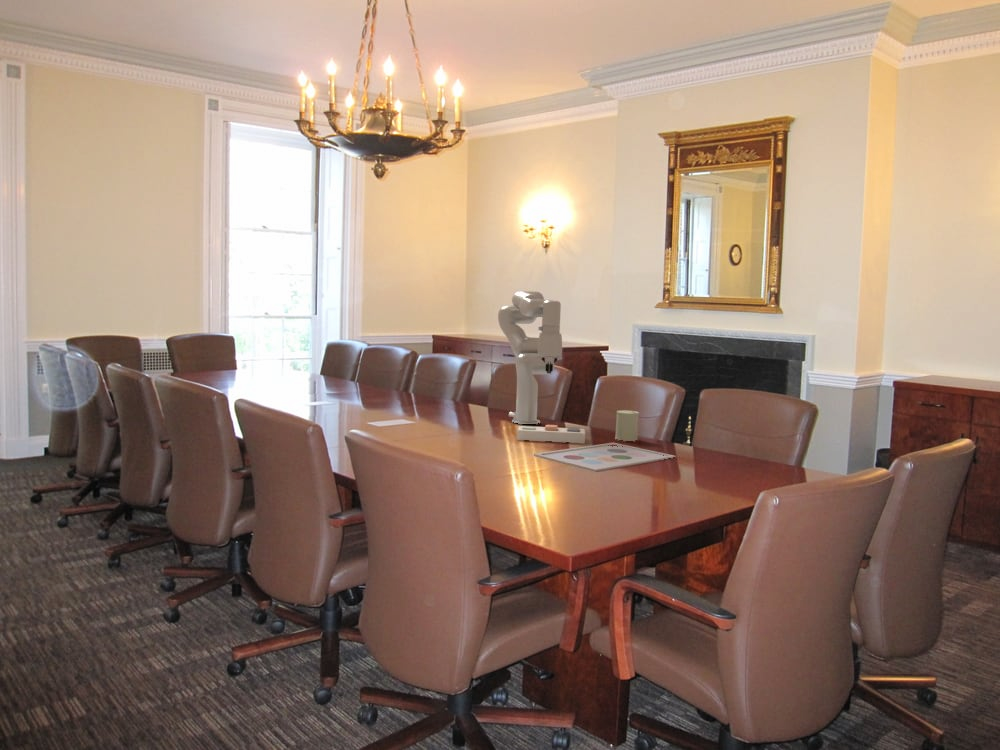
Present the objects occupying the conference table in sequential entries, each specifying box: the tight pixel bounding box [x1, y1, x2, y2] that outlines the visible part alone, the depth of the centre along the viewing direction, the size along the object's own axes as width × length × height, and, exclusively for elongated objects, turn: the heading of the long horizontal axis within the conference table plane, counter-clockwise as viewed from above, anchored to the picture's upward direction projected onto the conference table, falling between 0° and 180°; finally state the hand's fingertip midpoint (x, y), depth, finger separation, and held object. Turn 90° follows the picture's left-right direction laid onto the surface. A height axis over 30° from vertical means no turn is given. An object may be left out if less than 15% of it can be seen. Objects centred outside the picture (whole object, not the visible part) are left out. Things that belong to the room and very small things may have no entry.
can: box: [614, 409, 640, 442], centre depth 344 cm, size 9×9×12 cm
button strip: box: [516, 425, 586, 444], centre depth 339 cm, size 27×11×4 cm, turn 86°
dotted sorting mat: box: [533, 442, 676, 472], centre depth 307 cm, size 30×1×43 cm
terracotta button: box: [544, 424, 558, 431], centre depth 339 cm, size 5×5×4 cm
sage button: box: [522, 425, 536, 430], centre depth 339 cm, size 5×5×4 cm
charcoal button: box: [567, 427, 581, 432], centre depth 338 cm, size 5×5×4 cm
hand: (548, 373), depth 354 cm, fingers closed
